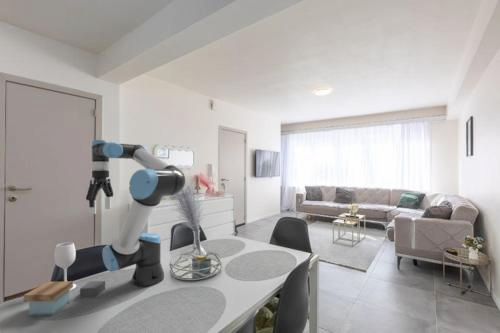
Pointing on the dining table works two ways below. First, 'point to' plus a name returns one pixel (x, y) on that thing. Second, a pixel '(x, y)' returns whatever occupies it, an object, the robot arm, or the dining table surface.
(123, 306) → the dining table surface
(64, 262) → the wineglass
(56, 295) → the lid
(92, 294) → the gray square block
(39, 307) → the dish
